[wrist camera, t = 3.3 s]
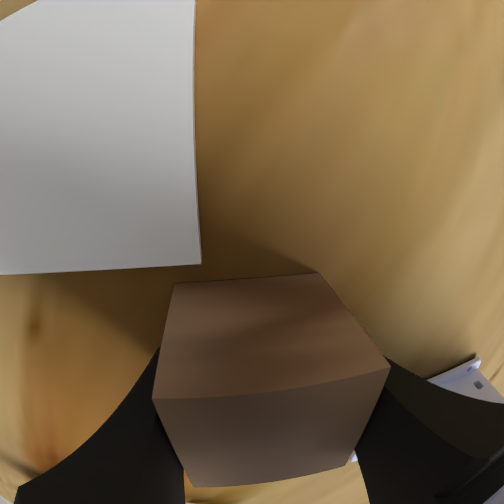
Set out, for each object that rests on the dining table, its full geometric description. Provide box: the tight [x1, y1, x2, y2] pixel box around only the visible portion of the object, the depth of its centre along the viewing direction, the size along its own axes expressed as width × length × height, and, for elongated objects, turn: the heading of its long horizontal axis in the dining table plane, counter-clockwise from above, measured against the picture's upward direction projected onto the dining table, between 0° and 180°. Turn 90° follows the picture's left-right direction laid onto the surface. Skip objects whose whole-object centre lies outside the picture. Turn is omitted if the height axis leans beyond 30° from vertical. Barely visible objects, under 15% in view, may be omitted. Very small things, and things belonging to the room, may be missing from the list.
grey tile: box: [0, 0, 202, 275], centre depth 6 cm, size 10×10×1 cm
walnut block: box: [152, 273, 391, 487], centre depth 8 cm, size 5×5×5 cm
